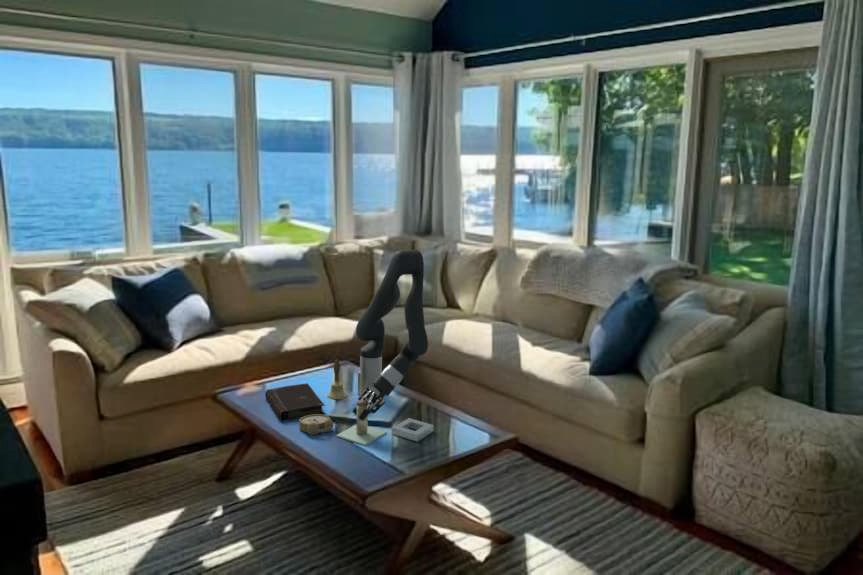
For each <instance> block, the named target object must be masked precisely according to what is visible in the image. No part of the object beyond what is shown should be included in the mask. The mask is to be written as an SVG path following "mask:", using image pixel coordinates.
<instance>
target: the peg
mask: <svg viewBox="0 0 863 575" xmlns="http://www.w3.org/2000/svg"><path fill="white" fill-rule="evenodd" d="M367 405H368V401H366V400H357V401H356V406H357V415H356V424H355V425H356V434H357V435H366V434H367V427H368V426H369V425H368V422H369V420H368V418H369V415H368V416H367V417H366V418H365V419H364V420H363V421H362V420H361V419H360V418H359V417H358V416H359V415H360V414H361V413H362V412H363V410H364V409H365V410H366V407H367Z"/></svg>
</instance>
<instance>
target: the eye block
mask: <svg viewBox="0 0 863 575" xmlns="http://www.w3.org/2000/svg"><path fill="white" fill-rule="evenodd" d="M433 432H434V424H430V423H427V422H424V421H420V420H417V419H413V418H410V417H409V418H407V419H404V420H403V421H401V422H400V423H398V424H396V425H394V426H392V427H391V434H392V435H393V436H396V437H401V438H404V439H407V440H409V441H413V442H419V441H421V440H422V439H424V438H425V437H426V436H428V435H429V434H431V433H433Z"/></svg>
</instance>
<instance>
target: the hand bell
mask: <svg viewBox="0 0 863 575" xmlns="http://www.w3.org/2000/svg"><path fill="white" fill-rule="evenodd" d="M340 365H341V364H340V362H339V359H334V363H333V372H334V382H332V383H331V388H330V390H329V392H328V393H327V395H326V397H327V398H328V399H330V400H342V399H343V400H344V399H346V398H347V397H348V394H347V393H346V392H345V390H344V387H343V383H342V382H340V377H339V374H340V371H341V370H340V369H341V366H340Z"/></svg>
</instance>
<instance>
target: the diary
mask: <svg viewBox="0 0 863 575" xmlns="http://www.w3.org/2000/svg"><path fill="white" fill-rule="evenodd" d="M264 393H265V394H264V395H265V399H266V400H267V401H268V403H269V404H270V406H271V408H272V410H273V411H274V413H275V414H276V416H277V418H278V419H279V421H280V422H283V420H282V417H283V419H284V420H285V421H287V419H288V420H292V419H298V418H299V419H300V418H302V417H304V416H307V415H313V414H322V415H326V413H325V412H324V411H323V407H325V406H326V405H325V403H324V402H323V401H322V400H321V399H320V397H319V396H318V395H317V394H316V392H315V391H314V389H313V388H312V387H311V385H310V384H308V383H307V382H306V383H298V384H293V385H285V386H280V387H275V388H270V389H269V388H268V389H266V391H265V392H264Z"/></svg>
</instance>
